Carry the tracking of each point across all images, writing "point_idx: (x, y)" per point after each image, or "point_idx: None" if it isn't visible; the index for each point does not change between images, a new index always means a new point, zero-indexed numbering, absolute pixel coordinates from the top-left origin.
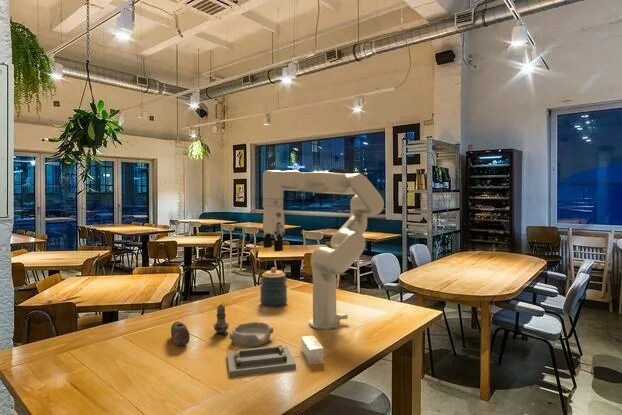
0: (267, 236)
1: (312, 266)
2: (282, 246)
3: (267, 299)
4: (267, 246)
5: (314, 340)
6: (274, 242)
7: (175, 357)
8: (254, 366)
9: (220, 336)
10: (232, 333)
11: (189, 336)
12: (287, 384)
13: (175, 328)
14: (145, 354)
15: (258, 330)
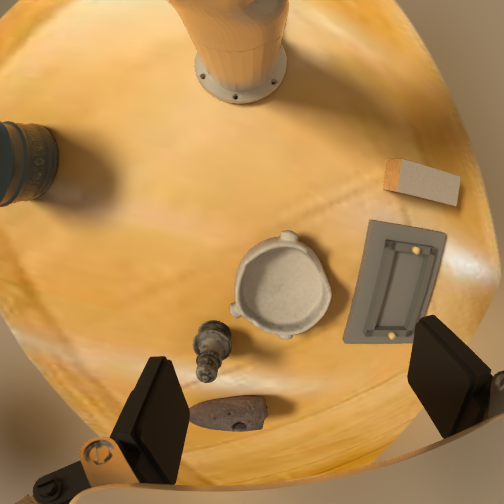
0: (152, 480)
1: (212, 10)
2: (451, 334)
3: (39, 185)
4: (180, 400)
5: (425, 173)
6: (448, 428)
7: (300, 407)
8: (421, 305)
9: (230, 338)
10: (289, 335)
11: (262, 403)
12: (469, 262)
13: (249, 430)
14: (267, 436)
15: (257, 262)
